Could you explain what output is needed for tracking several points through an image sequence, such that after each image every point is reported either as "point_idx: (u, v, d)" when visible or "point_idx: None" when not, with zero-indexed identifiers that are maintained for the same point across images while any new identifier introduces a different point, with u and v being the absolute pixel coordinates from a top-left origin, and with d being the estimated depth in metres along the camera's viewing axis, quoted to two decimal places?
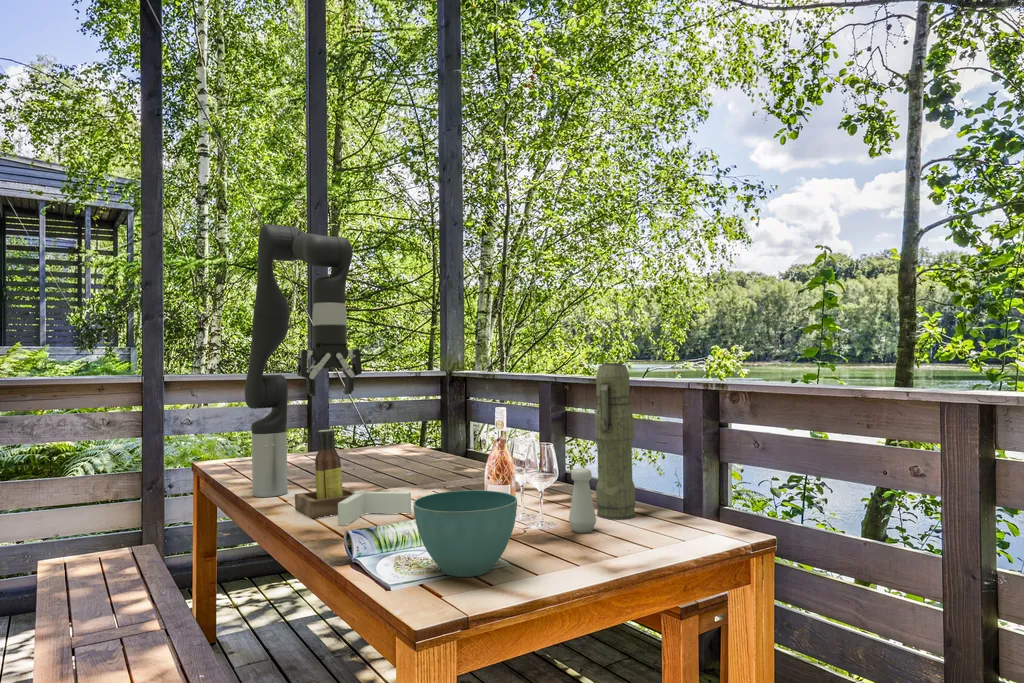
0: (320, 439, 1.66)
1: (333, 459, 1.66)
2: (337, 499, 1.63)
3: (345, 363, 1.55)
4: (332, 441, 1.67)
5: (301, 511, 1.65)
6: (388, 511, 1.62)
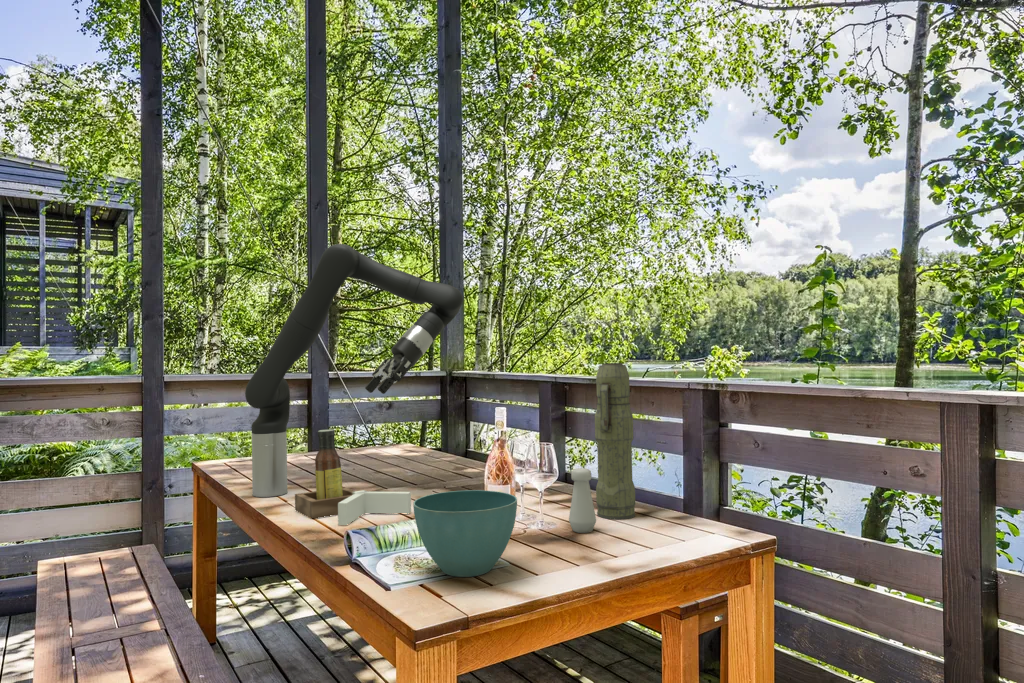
0: (320, 439, 1.66)
1: (333, 459, 1.66)
2: (337, 499, 1.63)
3: None
4: (332, 441, 1.67)
5: (301, 511, 1.65)
6: (388, 511, 1.62)
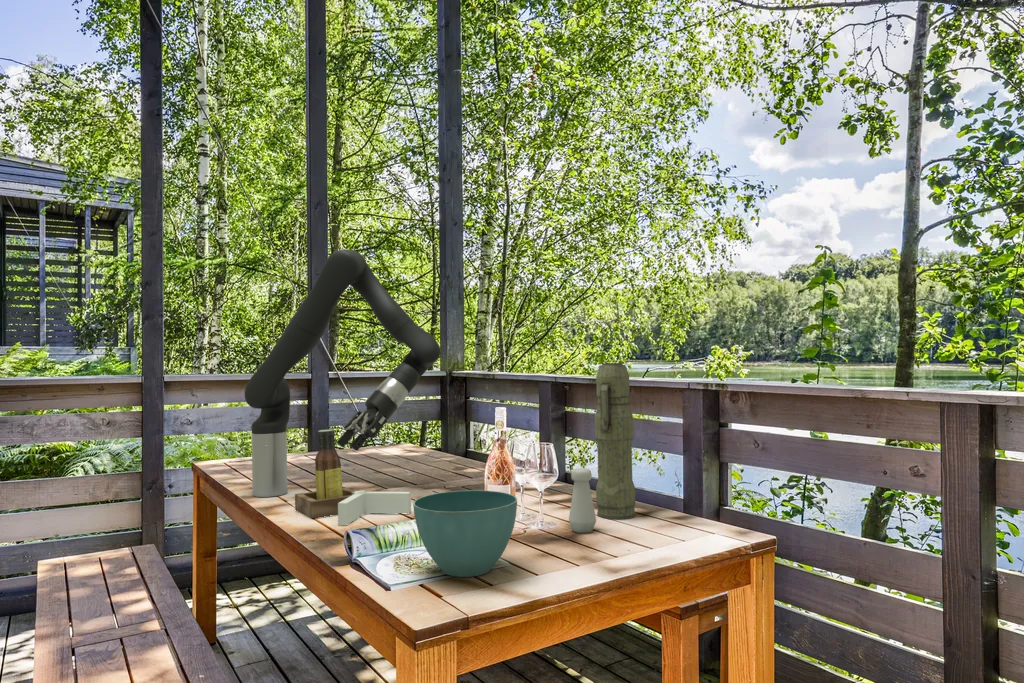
0: (320, 439, 1.66)
1: (333, 459, 1.66)
2: (337, 499, 1.63)
3: None
4: (332, 441, 1.67)
5: (301, 511, 1.65)
6: (388, 511, 1.62)
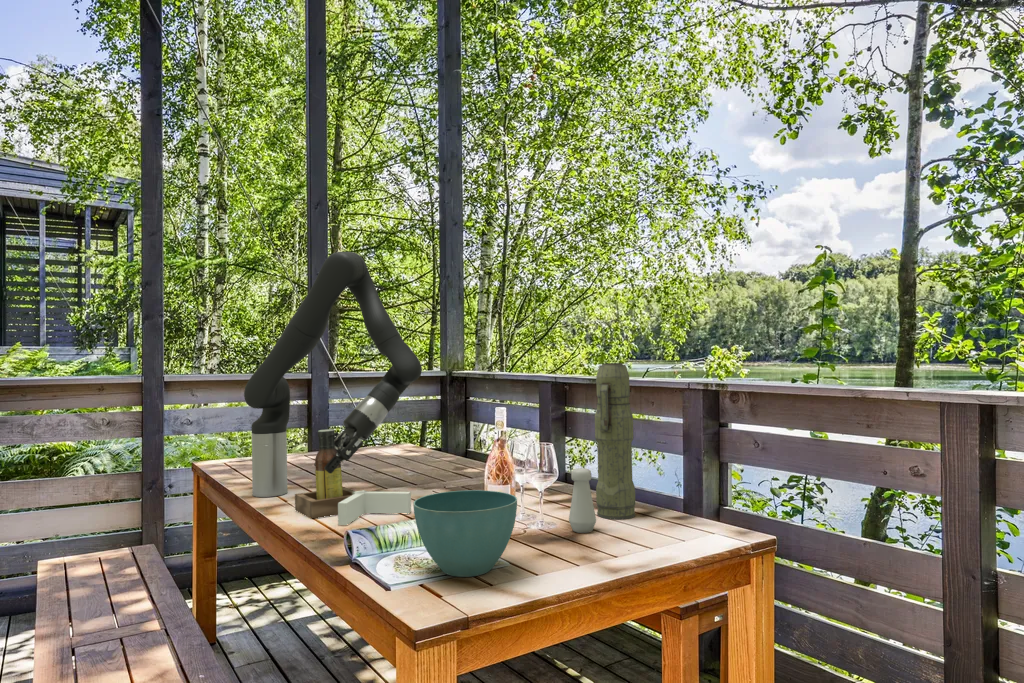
0: (320, 439, 1.66)
1: None
2: (337, 499, 1.63)
3: None
4: (332, 441, 1.67)
5: (301, 511, 1.65)
6: (388, 511, 1.62)
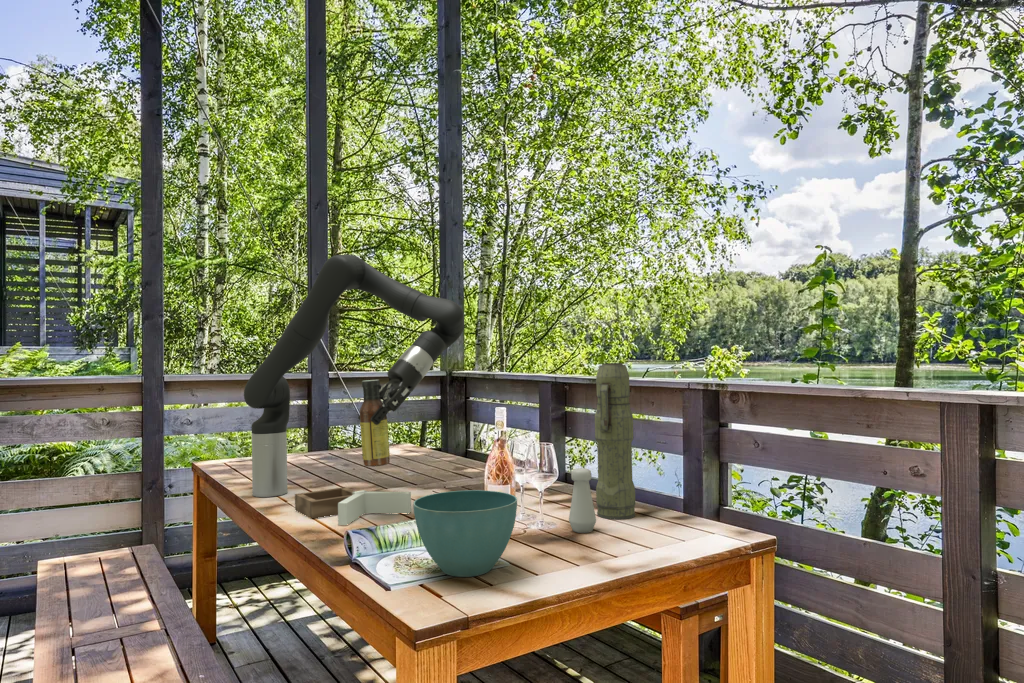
0: (365, 389, 1.57)
1: None
2: (337, 499, 1.63)
3: None
4: (377, 391, 1.58)
5: (301, 511, 1.65)
6: (388, 511, 1.62)
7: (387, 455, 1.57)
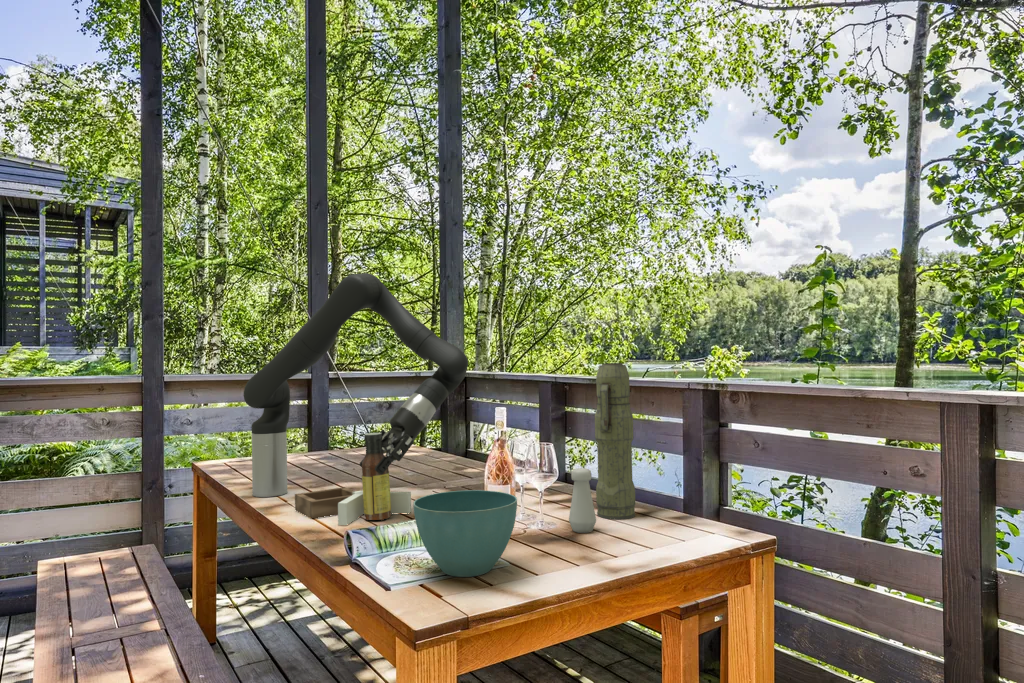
0: (367, 443, 1.57)
1: None
2: (337, 499, 1.63)
3: None
4: (380, 445, 1.58)
5: (301, 511, 1.65)
6: None
7: (388, 509, 1.57)
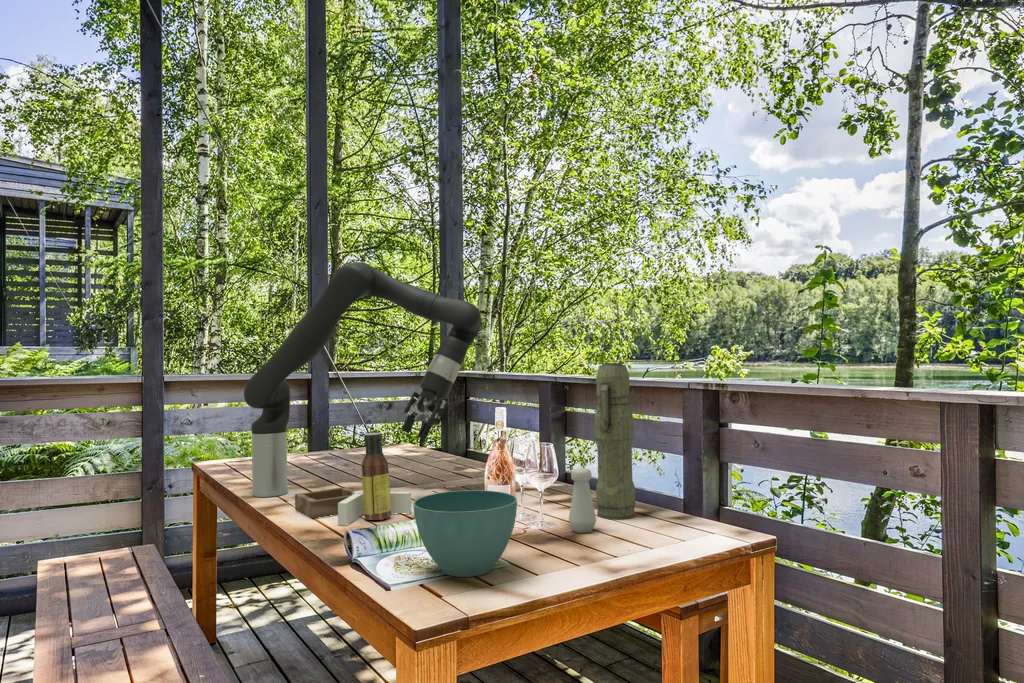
0: (367, 443, 1.57)
1: (382, 465, 1.56)
2: (337, 499, 1.63)
3: None
4: (380, 445, 1.58)
5: (301, 511, 1.65)
6: None
7: (388, 509, 1.57)
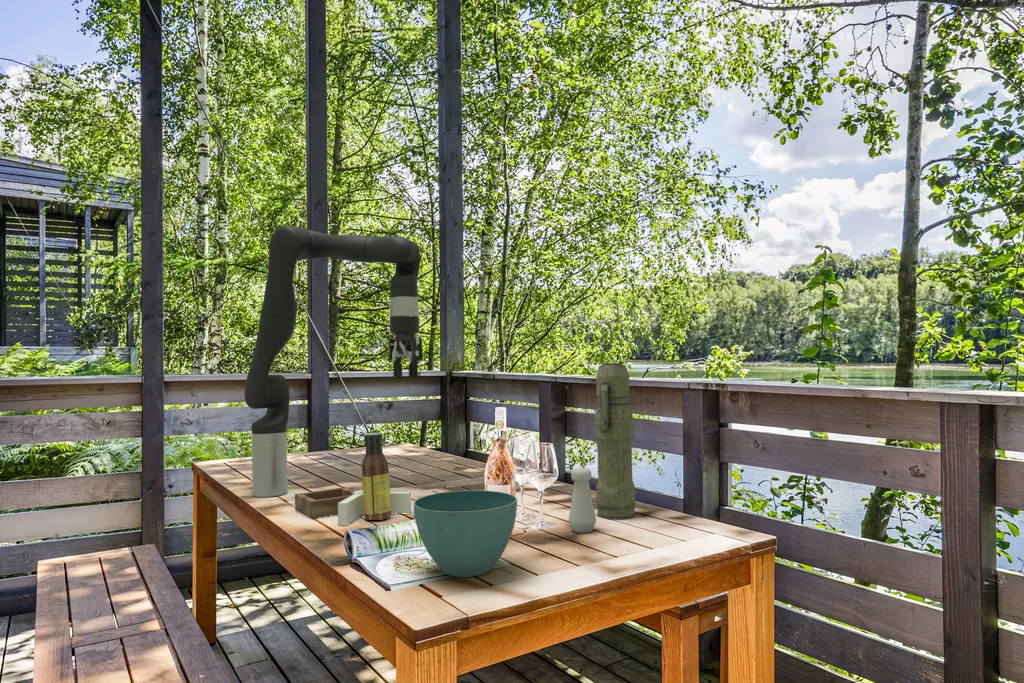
0: (367, 443, 1.57)
1: (382, 465, 1.56)
2: (337, 499, 1.63)
3: None
4: (380, 445, 1.58)
5: (301, 511, 1.65)
6: None
7: (388, 509, 1.57)
